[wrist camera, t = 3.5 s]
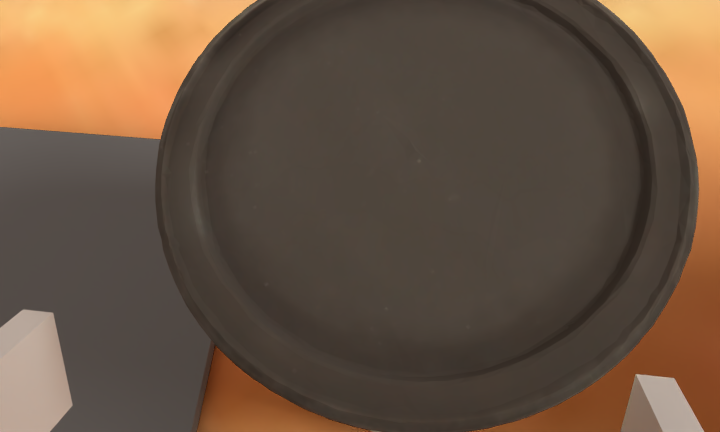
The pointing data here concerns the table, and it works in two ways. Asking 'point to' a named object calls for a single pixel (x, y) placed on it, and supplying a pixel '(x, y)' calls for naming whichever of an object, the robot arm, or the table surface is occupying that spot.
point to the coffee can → (426, 203)
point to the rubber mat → (100, 279)
